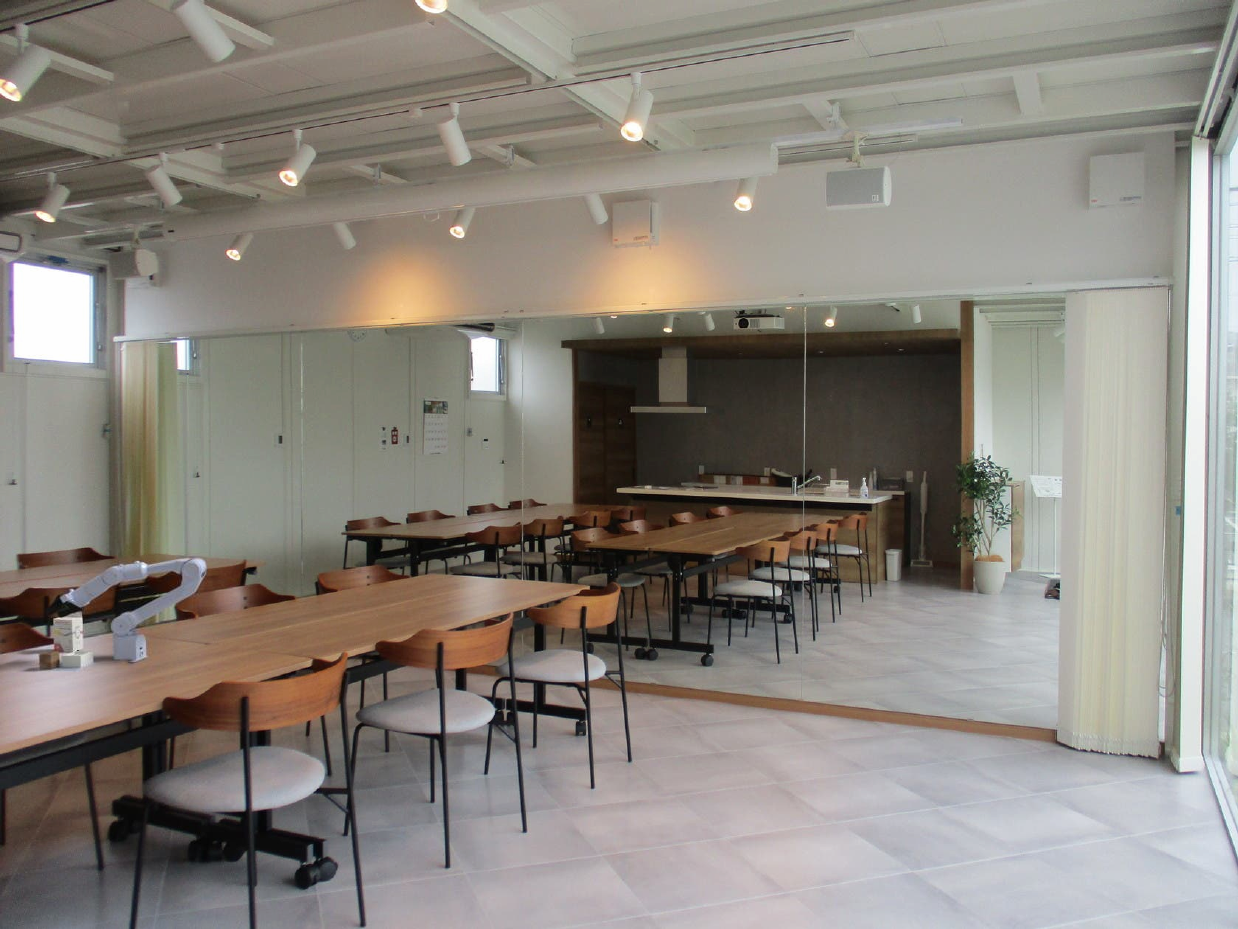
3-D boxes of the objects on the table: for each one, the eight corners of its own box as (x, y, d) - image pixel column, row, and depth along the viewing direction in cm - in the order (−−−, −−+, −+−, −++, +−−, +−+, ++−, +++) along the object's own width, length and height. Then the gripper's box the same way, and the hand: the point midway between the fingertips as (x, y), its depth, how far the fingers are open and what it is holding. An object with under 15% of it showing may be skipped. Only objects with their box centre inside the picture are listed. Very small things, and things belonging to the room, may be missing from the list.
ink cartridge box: (53, 651, 331) (51, 610, 331) (64, 648, 336) (63, 607, 336) (72, 652, 329) (71, 611, 329) (84, 649, 334) (82, 608, 333)
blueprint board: (97, 665, 309) (97, 651, 309) (76, 673, 298) (75, 658, 298) (57, 665, 310) (57, 650, 310) (34, 673, 299) (34, 658, 299)
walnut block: (59, 666, 304) (59, 651, 304) (51, 669, 300) (50, 654, 300) (48, 666, 304) (47, 651, 304) (39, 669, 300) (39, 654, 300)
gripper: (94, 583, 321) (58, 606, 319) (72, 578, 307) (34, 603, 304) (104, 600, 320) (68, 623, 317) (83, 596, 306) (45, 620, 303)
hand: (52, 614), depth 311 cm, fingers open, 7 cm apart
